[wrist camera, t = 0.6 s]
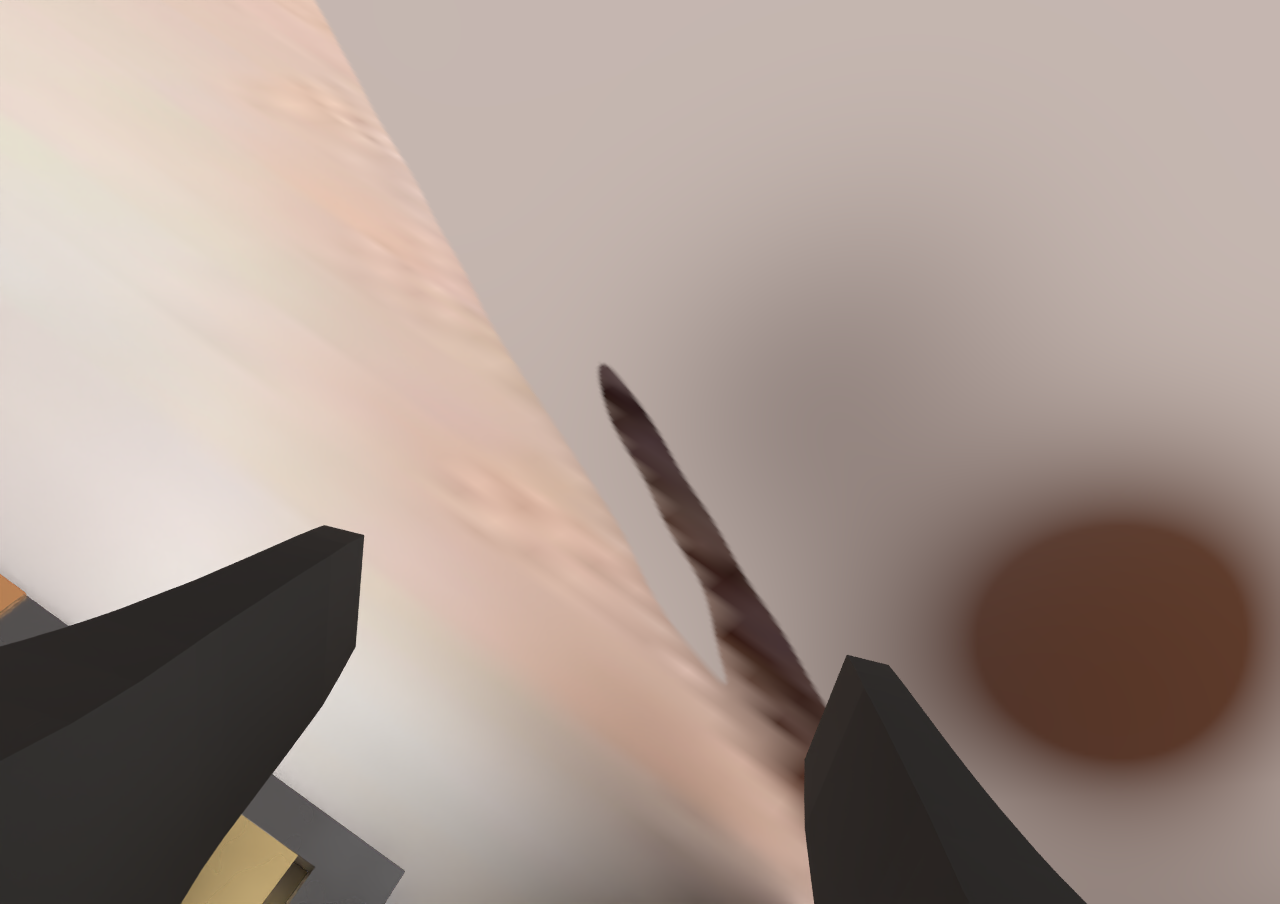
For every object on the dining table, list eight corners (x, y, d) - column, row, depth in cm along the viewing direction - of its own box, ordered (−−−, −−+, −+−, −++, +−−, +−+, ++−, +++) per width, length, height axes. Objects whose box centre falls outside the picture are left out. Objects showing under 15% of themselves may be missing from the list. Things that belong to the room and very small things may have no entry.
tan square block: (144, 1041, 19) (148, 1054, 15) (8, 948, 19) (-28, 934, 15) (264, 883, 22) (298, 855, 18) (148, 799, 22) (152, 750, 17)
